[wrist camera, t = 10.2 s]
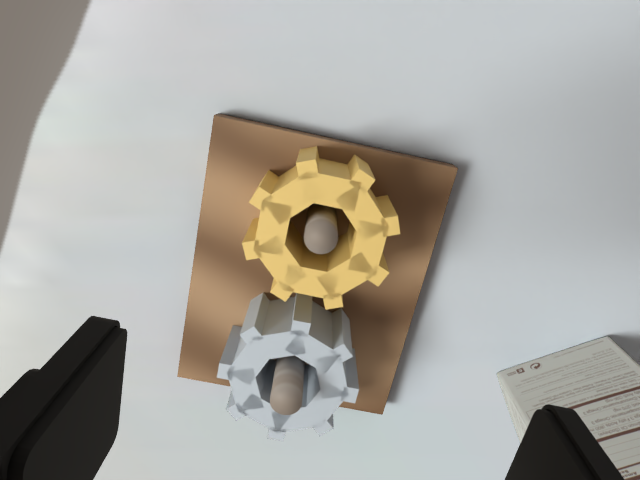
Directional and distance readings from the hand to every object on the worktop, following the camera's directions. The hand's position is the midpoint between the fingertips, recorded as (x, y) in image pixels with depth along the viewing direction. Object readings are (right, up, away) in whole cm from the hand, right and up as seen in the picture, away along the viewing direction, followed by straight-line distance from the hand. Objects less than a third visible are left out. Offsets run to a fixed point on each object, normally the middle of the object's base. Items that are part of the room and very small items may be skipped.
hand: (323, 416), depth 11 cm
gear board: (-1, +2, +18) cm, 19 cm away
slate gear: (-2, -2, +19) cm, 19 cm away
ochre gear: (0, +5, +16) cm, 17 cm away
